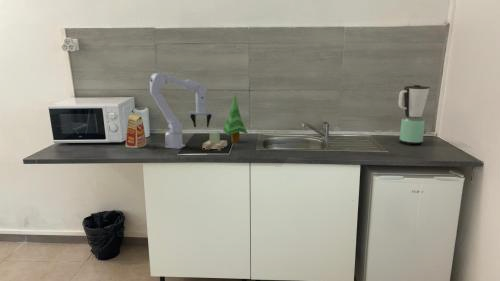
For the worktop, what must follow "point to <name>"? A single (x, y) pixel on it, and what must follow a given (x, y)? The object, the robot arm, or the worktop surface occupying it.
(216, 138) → the green block
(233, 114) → the decorative tree
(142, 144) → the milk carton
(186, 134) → the worktop surface
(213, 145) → the beige irregular slab
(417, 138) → the mint green blender
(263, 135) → the worktop surface
